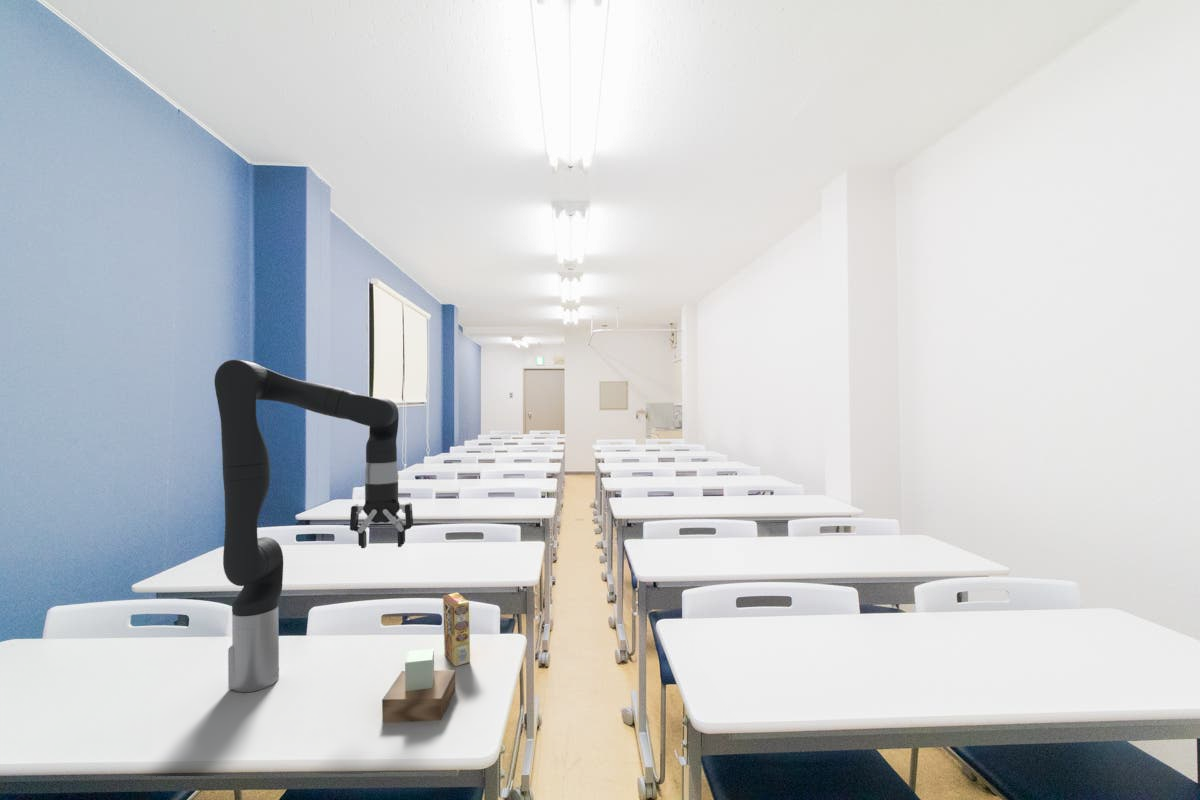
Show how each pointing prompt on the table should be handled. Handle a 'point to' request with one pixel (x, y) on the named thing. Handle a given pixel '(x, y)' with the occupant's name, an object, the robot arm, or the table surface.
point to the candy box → (456, 629)
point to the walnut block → (419, 699)
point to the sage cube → (419, 669)
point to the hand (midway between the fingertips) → (382, 546)
